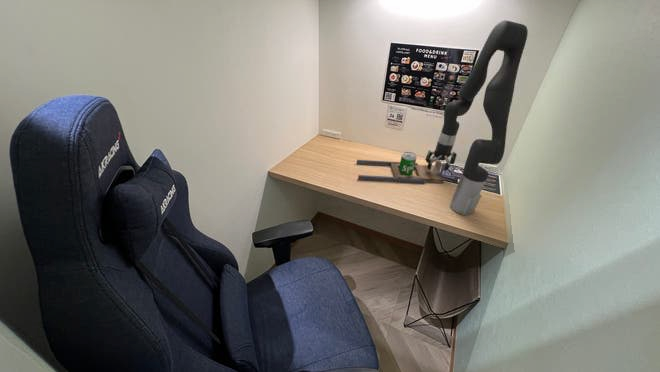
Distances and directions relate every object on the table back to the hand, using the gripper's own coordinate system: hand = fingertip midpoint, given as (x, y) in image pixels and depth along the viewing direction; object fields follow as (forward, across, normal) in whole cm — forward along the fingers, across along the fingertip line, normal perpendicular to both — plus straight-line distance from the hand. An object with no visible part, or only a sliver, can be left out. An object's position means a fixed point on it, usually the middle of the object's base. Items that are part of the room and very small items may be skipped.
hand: (437, 169), depth 138 cm
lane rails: (+4, +25, 0) cm, 25 cm away
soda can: (+4, +16, 0) cm, 17 cm away
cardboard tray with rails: (+4, +11, 0) cm, 12 cm away
